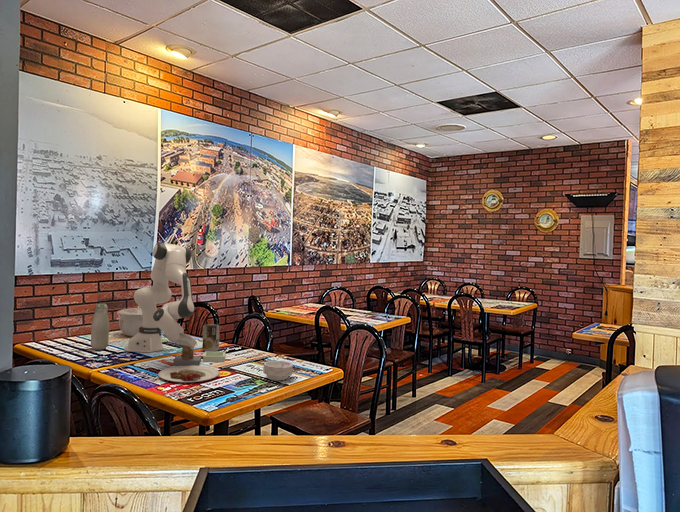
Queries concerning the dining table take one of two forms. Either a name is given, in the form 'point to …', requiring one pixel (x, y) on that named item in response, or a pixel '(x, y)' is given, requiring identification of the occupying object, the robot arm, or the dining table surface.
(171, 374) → the plated food
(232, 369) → the dining table surface
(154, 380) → the dining table surface
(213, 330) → the coffee box
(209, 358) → the holder
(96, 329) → the glass bottle
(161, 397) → the dining table surface
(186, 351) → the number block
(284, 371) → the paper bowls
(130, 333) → the chamber pot
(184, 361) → the block
